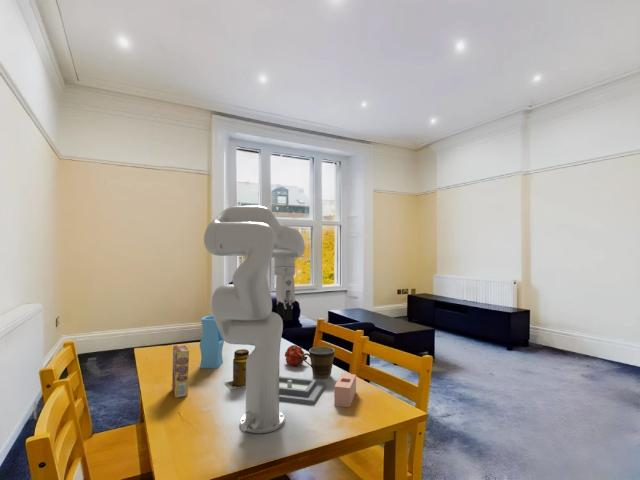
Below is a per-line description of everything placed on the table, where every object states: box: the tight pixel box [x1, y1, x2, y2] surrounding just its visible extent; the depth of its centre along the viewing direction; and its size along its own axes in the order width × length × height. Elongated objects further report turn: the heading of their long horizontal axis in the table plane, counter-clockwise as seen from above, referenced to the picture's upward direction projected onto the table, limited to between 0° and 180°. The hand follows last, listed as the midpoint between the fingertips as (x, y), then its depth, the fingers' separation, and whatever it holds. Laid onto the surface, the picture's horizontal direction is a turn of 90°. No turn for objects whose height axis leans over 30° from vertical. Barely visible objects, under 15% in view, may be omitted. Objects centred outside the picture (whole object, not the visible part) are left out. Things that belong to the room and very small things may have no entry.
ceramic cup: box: [302, 346, 335, 380], centre depth 138 cm, size 13×10×10 cm
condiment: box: [224, 348, 250, 391], centre depth 130 cm, size 7×8×12 cm
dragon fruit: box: [284, 344, 308, 368], centre depth 151 cm, size 8×8×12 cm
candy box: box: [171, 344, 190, 399], centre depth 122 cm, size 9×4×15 cm, turn 29°
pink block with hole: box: [333, 372, 357, 408], centre depth 117 cm, size 12×5×6 cm, turn 165°
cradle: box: [279, 375, 327, 405], centre depth 124 cm, size 16×22×4 cm
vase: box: [199, 315, 225, 369], centre depth 151 cm, size 8×8×20 cm
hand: (284, 317), depth 130 cm, fingers open, 9 cm apart
